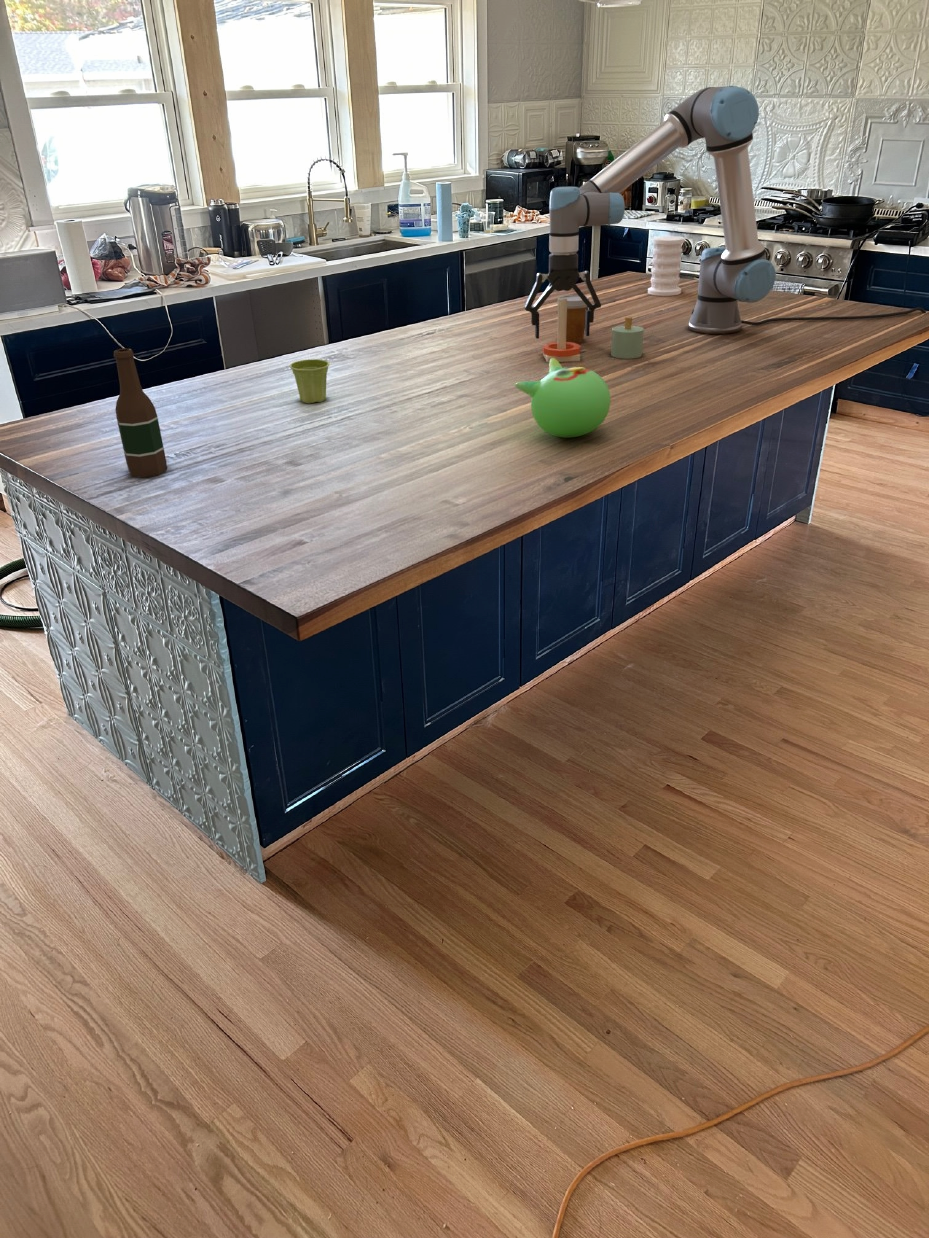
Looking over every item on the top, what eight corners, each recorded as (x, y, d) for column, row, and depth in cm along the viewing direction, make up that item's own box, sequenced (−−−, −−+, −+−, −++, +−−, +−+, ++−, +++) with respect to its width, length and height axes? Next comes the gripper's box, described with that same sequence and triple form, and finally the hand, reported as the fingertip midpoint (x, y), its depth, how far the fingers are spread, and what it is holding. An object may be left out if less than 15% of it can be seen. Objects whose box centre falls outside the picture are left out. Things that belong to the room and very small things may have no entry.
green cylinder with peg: (638, 350, 257) (640, 313, 252) (645, 358, 250) (647, 320, 245) (608, 351, 257) (610, 314, 252) (614, 359, 249) (616, 321, 244)
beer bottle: (133, 465, 188) (106, 346, 176) (171, 463, 188) (148, 344, 176) (124, 479, 181) (96, 356, 169) (164, 477, 181) (139, 354, 169)
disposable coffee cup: (588, 336, 273) (589, 294, 267) (589, 344, 265) (590, 301, 259) (556, 337, 274) (556, 294, 268) (555, 344, 266) (556, 301, 260)
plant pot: (339, 395, 227) (336, 360, 222) (322, 407, 219) (318, 370, 215) (305, 393, 230) (301, 358, 225) (287, 404, 222) (282, 368, 218)
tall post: (575, 353, 257) (576, 295, 249) (580, 361, 249) (582, 301, 241) (542, 354, 256) (543, 296, 249) (547, 362, 248) (547, 303, 241)
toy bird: (585, 453, 186) (587, 380, 179) (512, 440, 194) (511, 370, 187) (621, 427, 199) (625, 359, 192) (551, 417, 207) (552, 350, 200)
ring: (576, 347, 256) (576, 341, 255) (582, 356, 248) (582, 349, 247) (541, 348, 256) (541, 342, 255) (545, 357, 247) (545, 351, 246)
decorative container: (647, 295, 323) (651, 240, 314) (647, 289, 333) (651, 236, 324) (681, 296, 321) (686, 240, 312) (680, 289, 331) (684, 235, 322)
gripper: (608, 248, 243) (605, 331, 253) (514, 252, 242) (514, 335, 253) (614, 253, 236) (610, 337, 247) (517, 257, 235) (517, 341, 246)
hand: (562, 336), depth 250 cm, fingers open, 13 cm apart
